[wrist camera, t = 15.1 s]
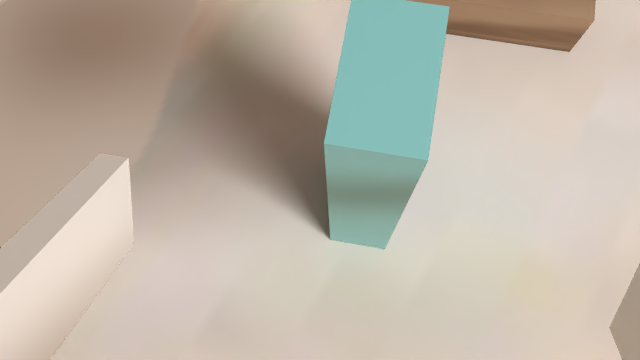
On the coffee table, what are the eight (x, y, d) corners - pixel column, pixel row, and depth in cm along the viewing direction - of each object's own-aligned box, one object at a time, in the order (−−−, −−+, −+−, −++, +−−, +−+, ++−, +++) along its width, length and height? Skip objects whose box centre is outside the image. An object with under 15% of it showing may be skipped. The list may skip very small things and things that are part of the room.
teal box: (384, 249, 32) (428, 160, 17) (330, 239, 32) (323, 143, 17) (397, 162, 33) (449, 6, 18) (345, 154, 34) (352, -8, 18)
